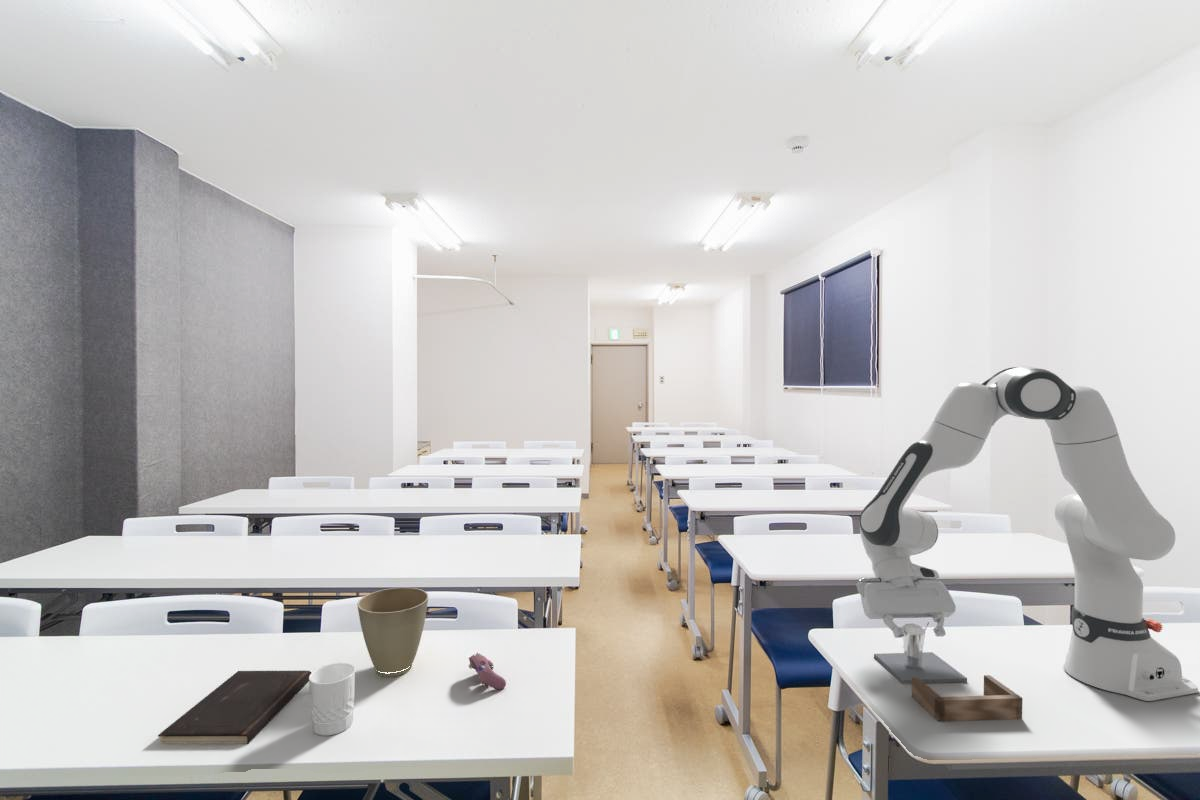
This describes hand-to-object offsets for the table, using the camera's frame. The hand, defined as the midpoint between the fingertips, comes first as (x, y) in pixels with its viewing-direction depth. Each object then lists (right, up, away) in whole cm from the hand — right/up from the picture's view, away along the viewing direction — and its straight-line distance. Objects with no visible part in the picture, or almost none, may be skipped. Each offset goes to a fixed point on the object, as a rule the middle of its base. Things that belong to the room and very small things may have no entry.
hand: (920, 636), depth 129 cm
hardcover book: (-142, -9, -14) cm, 143 cm away
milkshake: (-1, -7, +1) cm, 7 cm away
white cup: (-121, -9, -20) cm, 123 cm away
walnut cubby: (+1, -8, -15) cm, 17 cm away
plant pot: (-117, -8, +1) cm, 117 cm away
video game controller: (-96, -8, -4) cm, 96 cm away
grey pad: (0, -8, +1) cm, 8 cm away
